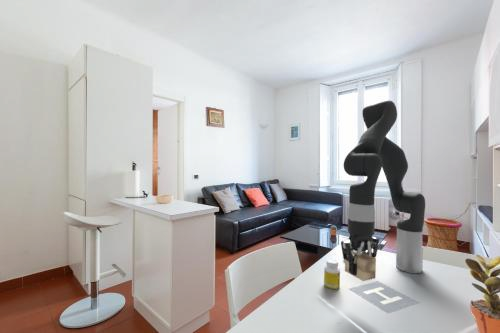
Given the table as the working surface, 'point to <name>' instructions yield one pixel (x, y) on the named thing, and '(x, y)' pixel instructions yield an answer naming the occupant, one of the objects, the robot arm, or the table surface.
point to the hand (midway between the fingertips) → (359, 272)
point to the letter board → (383, 296)
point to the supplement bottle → (332, 275)
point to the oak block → (364, 267)
